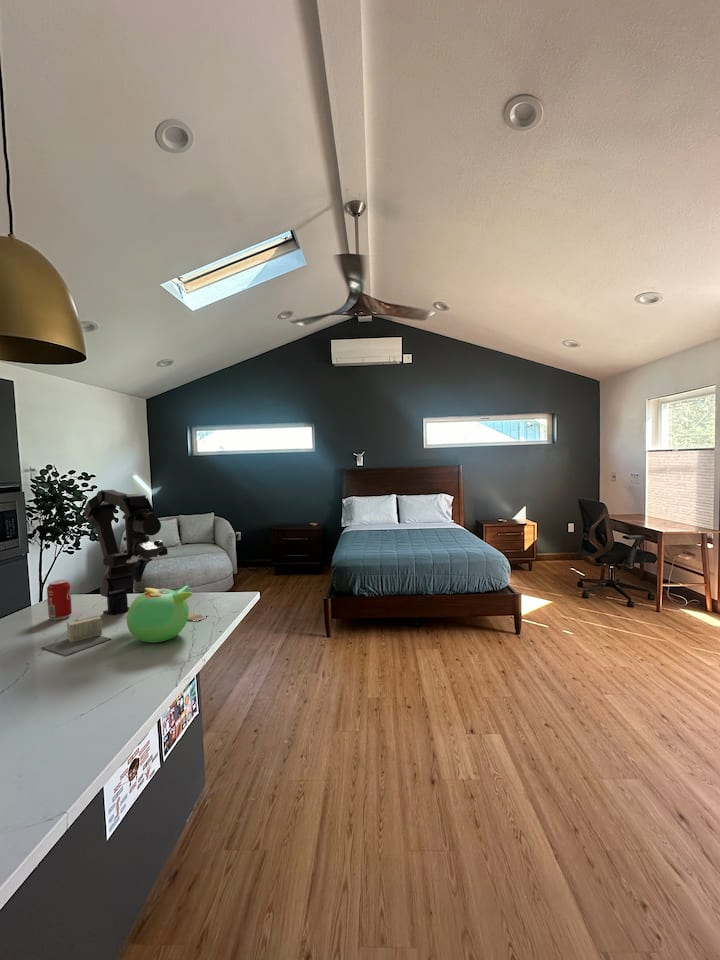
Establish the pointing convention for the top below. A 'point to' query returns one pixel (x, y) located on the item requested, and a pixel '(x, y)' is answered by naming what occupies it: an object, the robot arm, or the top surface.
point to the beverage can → (59, 599)
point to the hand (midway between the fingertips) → (138, 582)
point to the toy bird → (158, 614)
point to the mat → (74, 645)
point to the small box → (84, 628)
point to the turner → (195, 617)
